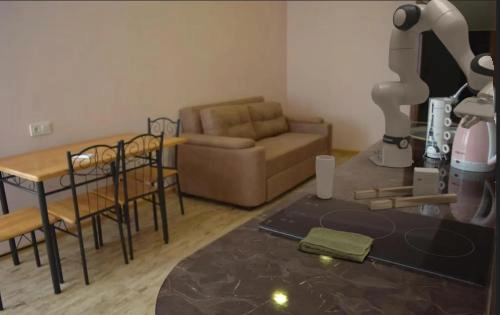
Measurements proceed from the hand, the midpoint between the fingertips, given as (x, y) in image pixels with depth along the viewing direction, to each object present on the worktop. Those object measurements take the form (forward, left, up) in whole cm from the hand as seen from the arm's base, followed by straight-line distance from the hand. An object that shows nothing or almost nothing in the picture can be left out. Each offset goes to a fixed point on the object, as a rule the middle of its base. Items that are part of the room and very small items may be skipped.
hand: (464, 127), depth 139 cm
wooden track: (0, -21, -25) cm, 33 cm away
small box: (0, -13, -25) cm, 28 cm away
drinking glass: (-10, -47, -25) cm, 55 cm away
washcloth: (+29, -59, -26) cm, 71 cm away
